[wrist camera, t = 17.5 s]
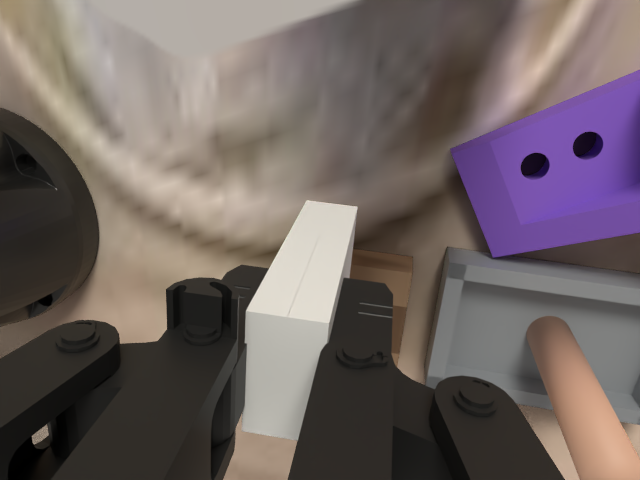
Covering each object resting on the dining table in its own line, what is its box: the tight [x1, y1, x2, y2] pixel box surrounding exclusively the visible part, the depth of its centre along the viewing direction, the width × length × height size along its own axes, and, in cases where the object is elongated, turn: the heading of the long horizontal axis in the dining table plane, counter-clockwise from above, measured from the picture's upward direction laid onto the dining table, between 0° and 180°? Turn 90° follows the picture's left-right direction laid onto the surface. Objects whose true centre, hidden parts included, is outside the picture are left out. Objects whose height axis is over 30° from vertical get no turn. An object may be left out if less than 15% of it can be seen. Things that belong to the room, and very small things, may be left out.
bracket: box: [450, 70, 640, 258], centre depth 27 cm, size 12×7×7 cm, turn 116°
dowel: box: [526, 316, 640, 480], centre depth 28 cm, size 3×3×12 cm
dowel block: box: [349, 249, 413, 367], centre depth 34 cm, size 8×8×2 cm
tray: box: [424, 247, 640, 425], centre depth 33 cm, size 14×9×2 cm, turn 85°
